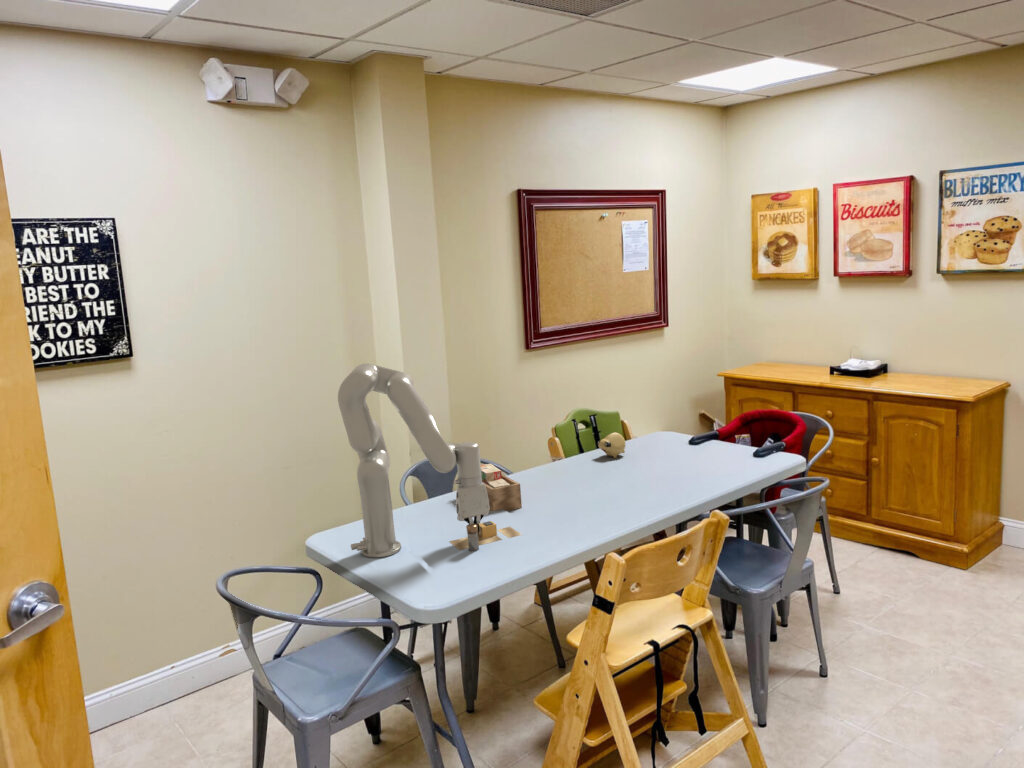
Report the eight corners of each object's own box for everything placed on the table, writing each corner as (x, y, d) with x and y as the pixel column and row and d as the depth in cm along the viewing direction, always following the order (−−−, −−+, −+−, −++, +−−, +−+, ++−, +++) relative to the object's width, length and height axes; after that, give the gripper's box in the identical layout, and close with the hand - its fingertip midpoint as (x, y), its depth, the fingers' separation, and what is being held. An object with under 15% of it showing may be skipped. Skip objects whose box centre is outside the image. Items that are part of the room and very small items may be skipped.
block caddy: (494, 513, 272) (492, 489, 270) (466, 495, 295) (464, 473, 293) (521, 507, 276) (520, 483, 275) (492, 490, 299) (490, 468, 298)
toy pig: (594, 456, 337) (593, 433, 335) (616, 451, 342) (615, 428, 341) (608, 461, 328) (607, 437, 326) (630, 456, 334) (629, 432, 332)
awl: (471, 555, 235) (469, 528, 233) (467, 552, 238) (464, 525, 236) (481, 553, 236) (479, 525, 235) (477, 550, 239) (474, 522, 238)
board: (459, 553, 237) (459, 550, 237) (449, 544, 245) (449, 541, 245) (522, 538, 247) (522, 534, 246) (510, 530, 255) (510, 526, 254)
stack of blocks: (512, 509, 276) (509, 476, 274) (495, 512, 274) (493, 479, 272) (493, 493, 296) (491, 462, 294) (478, 496, 294) (475, 465, 292)
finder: (483, 537, 246) (482, 526, 245) (478, 534, 249) (477, 523, 249) (497, 534, 248) (496, 523, 247) (492, 531, 252) (491, 520, 251)
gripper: (452, 488, 237) (457, 543, 240) (496, 479, 243) (500, 533, 246) (444, 482, 244) (449, 536, 247) (486, 473, 250) (490, 526, 253)
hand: (474, 534), depth 247 cm, fingers closed
